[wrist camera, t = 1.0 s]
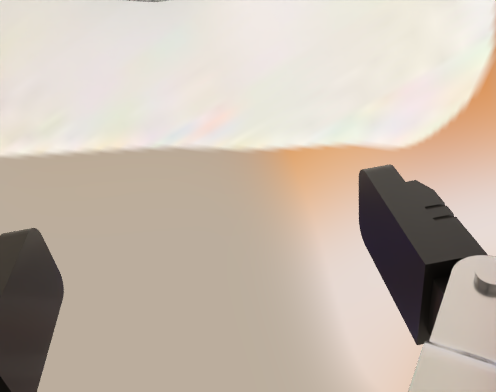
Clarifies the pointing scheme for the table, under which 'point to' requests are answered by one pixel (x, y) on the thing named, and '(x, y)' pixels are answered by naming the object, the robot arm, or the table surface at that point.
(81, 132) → the table surface
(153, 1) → the spool
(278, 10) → the table surface
